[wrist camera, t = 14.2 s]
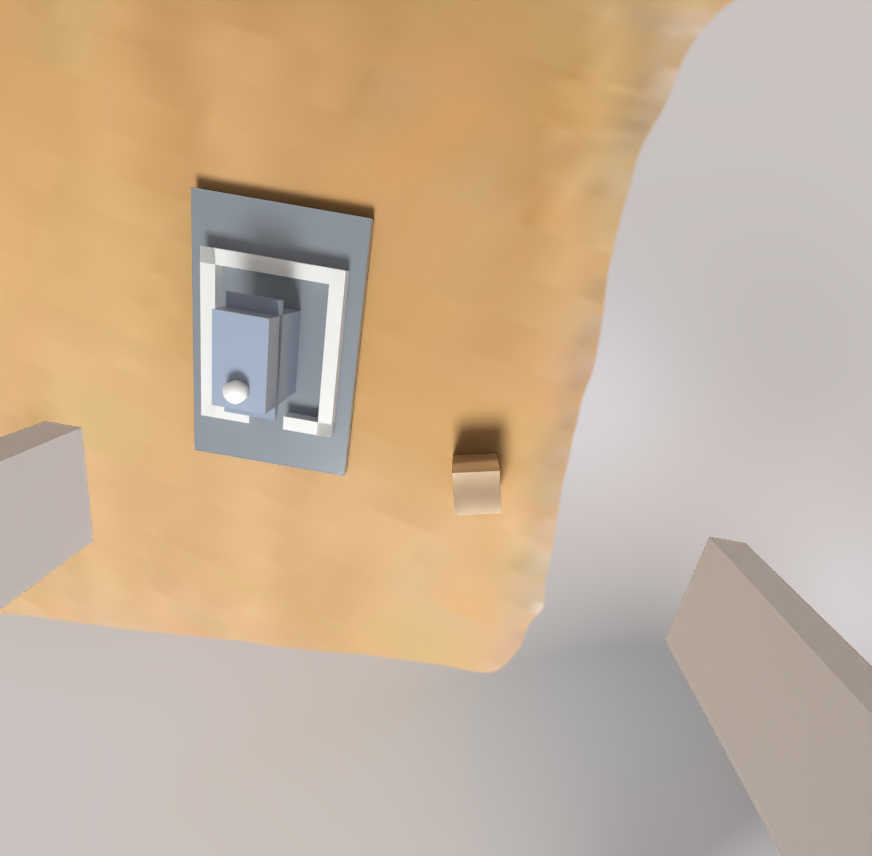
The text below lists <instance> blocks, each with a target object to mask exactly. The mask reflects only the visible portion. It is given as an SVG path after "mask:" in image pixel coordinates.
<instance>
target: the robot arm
mask: <svg viewBox="0 0 872 856" xmlns="http://www.w3.org/2000/svg"><path fill="white" fill-rule="evenodd" d="M92 541H93V533H92V524H91V514H90V504H89V494H88V484H87V474H86V464H85V454H84V445H83V435H82V428H81V427H76V426H70V425H64V424H58V423H53V422H47V421H44V422H42V423H39V424H36V425H33V426H31V427H28V428H25V429H22V430H20V431H17V432H14V433H11V434H9V435H6V436H3V437H0V609H1V608H3V607H4V606H5V605H7V604H8V603H9V602H11V601H12V600H14V599H15V598H16V597H18V596H19V595H20V594H22V593H23V592H24V591H26V590H27V589H29V588H30V587H31V586H33V585H34V584H35V583H37V582H38V581H39V580H41V579H42V578H43V577H45V576H46V575H48V574H49V573H50V572H52V571H53V570H54V569H56V568H57V567H58V566H60V565H61V564H63V563H64V562H65V561H67V560H68V559H69V558H71V557H72V556H73V555H75V554H76V553H78V552H79V551H80V550H82V549H83V548H84V547H86V546H87V545H88V544H90V543H91V542H92ZM665 641H666V643H667V645H668V647H669V648H670V650H671V652H672V654H673V656H674V658H675V659H676V661H677V663H678V665H679V667H680V669H681V671H682V672H683V674H684V676H685V678H686V680H687V681H688V684H689V685H690V687H691V689H692V691H693V693H694V695H695V696H696V698H697V700H698V702H699V704H700V705H701V708H702V709H703V711H704V713H705V715H706V717H707V719H708V720H709V722H710V724H711V726H712V728H713V730H714V732H715V733H716V735H717V737H718V739H719V741H720V743H721V744H722V746H723V748H724V750H725V752H726V753H727V755H728V757H729V759H730V761H731V763H732V765H733V766H734V768H735V770H736V772H737V774H738V776H739V778H740V780H741V781H742V783H743V785H744V787H745V789H746V791H747V792H748V794H749V796H750V798H751V800H752V801H753V804H754V805H755V807H756V809H757V811H758V813H759V815H760V816H761V818H762V820H763V822H764V824H765V826H766V828H767V829H768V831H769V833H770V835H771V837H772V839H773V840H774V842H775V844H776V846H777V848H778V850H779V852H780V853H781V855H782V856H872V666H871V665H870V664H869V663H868V662H867V661H866V660H865V659H864V658H863V657H862V656H861V655H860V654H859V653H858V652H857V651H856V650H855V649H854V648H852V646H851V645H850V644H849V643H848V642H846V641H845V640H844V639H843V638H842V637H841V636H840V635H839V634H838V633H837V632H836V631H835V630H834V629H833V628H832V627H831V626H830V625H829V624H828V623H827V622H826V621H825V620H824V619H823V618H822V617H821V616H820V615H819V614H817V612H816V611H815V610H814V609H813V608H812V607H811V606H810V605H809V604H807V603H806V602H805V601H804V600H803V599H802V598H801V597H800V596H799V595H798V594H797V593H796V592H795V591H794V590H793V589H792V588H791V587H790V586H789V585H788V584H787V583H786V582H785V581H784V580H783V579H782V578H781V577H780V576H779V575H778V574H777V573H776V572H775V571H773V569H772V568H771V567H769V566H768V565H767V564H766V563H765V562H764V561H763V560H762V559H761V558H760V557H759V556H758V555H757V554H756V553H755V552H754V551H753V550H752V549H751V548H750V547H749V546H748V545H747V544H746V543H742V542H736V541H730V540H724V539H719V538H713V537H709V538H708V540H707V543H706V545H705V547H704V550H703V553H702V555H701V557H700V559H699V562H698V564H697V566H696V569H695V571H694V574H693V576H692V578H691V581H690V583H689V586H688V588H687V590H686V592H685V595H684V597H683V600H682V602H681V604H680V607H679V609H678V612H677V614H676V616H675V619H674V621H673V624H672V626H671V628H670V630H669V633H668V635H667V637H666V640H665Z"/></svg>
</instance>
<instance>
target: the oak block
mask: <svg viewBox="0 0 872 856" xmlns="http://www.w3.org/2000/svg"><path fill="white" fill-rule="evenodd" d="M452 481H453V494H454V508H455V515H471V514H495V513H501V488H500V469H499V463H498V457H497V453H486V454H467V455H453V463H452Z"/></svg>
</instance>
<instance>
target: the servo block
mask: <svg viewBox="0 0 872 856" xmlns="http://www.w3.org/2000/svg"><path fill="white" fill-rule="evenodd" d="M283 301H284V300H280V299H274V298H269V297H263V296H258V295H252V294H246V293H241V292H235V291H226V302H225V307H219V308H213V309H212V405H215V406H220V407H224V411H225V412H230V413H236V414H242V415H247V416H253V417H259V418H264V419H270V420H275V419H277V414H278V405H279V404H280V403H281V402H283V401H284V400H285V399H287V398H288V397H289V396H291V395H292V394H294V393H295V392H296V377H297V362H298V346H299V331H300V316H301V311H300V310H294V309H289V308H283Z"/></svg>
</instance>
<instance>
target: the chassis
mask: <svg viewBox="0 0 872 856" xmlns="http://www.w3.org/2000/svg"><path fill="white" fill-rule="evenodd" d="M191 218H192V289H193V361H194V432H195V450H198V451H204V452H210V453H215V454H221V455H227V456H233V457H238V458H244V459H250V460H256V461H261V462H267V463H273V464H279V465H284V466H290V467H296V468H302V469H307V470H313V471H319V472H325V473H330V474H336V475H342V476H344V475H345V473H346V472H347V464H348V455H349V445H350V436H351V427H352V418H353V408H354V399H355V390H356V381H357V371H358V362H359V353H360V344H361V334H362V325H363V316H364V307H365V297H366V288H367V279H368V270H369V260H370V251H371V242H372V232H373V223H374V220H373V219H372V218H366V217H360V216H354V215H349V214H343V213H337V212H331V211H326V210H320V209H314V208H308V207H303V206H297V205H291V204H285V203H280V202H274V201H268V200H262V199H257V198H251V197H245V196H239V195H234V194H228V193H222V192H216V191H211V190H205V189H199V188H193V187H191ZM226 291H235V292H241V293H246V294H252V295H258V296H263V297H269V298H274V299H280V300H284V301H283V308H289V309H294V310H300V311H301V316H300V331H299V346H298V362H297V377H296V392H295V393H294V394H292V395H291V396H289V397H288V398H287V399H285V400H284V401H283V402H281V403H280V404H279V405H278V414H277V419H275V420H270V419H264V418H259V417H253V416H247V415H242V414H236V413H230V412H225V411H224V407H220V406H215V405H212V309H213V308H219V307H225V302H226Z"/></svg>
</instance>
